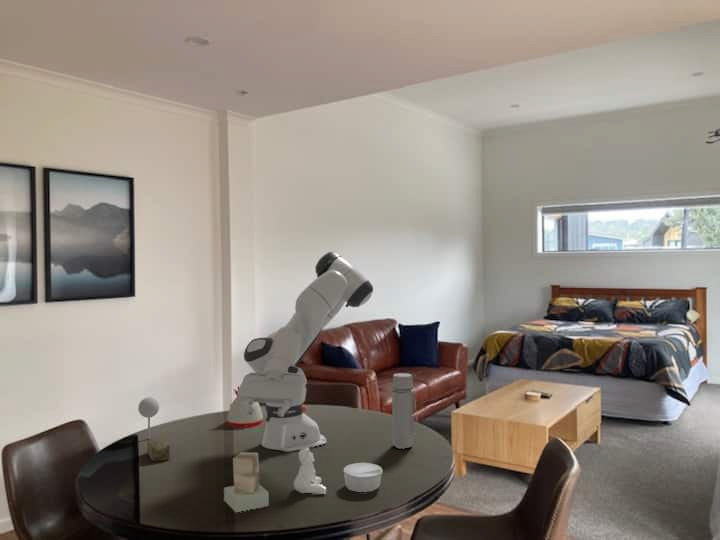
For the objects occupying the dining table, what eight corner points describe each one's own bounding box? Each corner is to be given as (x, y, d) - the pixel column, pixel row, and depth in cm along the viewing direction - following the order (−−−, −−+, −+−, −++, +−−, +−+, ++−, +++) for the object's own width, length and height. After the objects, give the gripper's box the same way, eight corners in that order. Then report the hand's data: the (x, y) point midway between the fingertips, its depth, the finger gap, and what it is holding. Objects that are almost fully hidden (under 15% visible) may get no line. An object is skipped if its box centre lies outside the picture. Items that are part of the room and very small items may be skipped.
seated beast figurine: (327, 495, 164) (327, 451, 164) (296, 498, 162) (296, 454, 162) (320, 482, 173) (320, 441, 173) (290, 486, 171) (290, 444, 171)
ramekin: (369, 498, 162) (369, 479, 162) (335, 490, 168) (335, 471, 168) (389, 485, 172) (389, 467, 172) (356, 477, 178) (356, 460, 178)
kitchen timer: (229, 418, 243) (229, 382, 243) (263, 417, 245) (263, 381, 245) (225, 428, 230) (225, 389, 229) (261, 427, 231) (261, 388, 231)
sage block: (255, 495, 165) (255, 481, 165) (268, 507, 157) (268, 492, 157) (224, 502, 160) (224, 487, 160) (235, 514, 153) (235, 499, 152)
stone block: (151, 463, 190) (151, 447, 190) (146, 453, 200) (146, 438, 200) (170, 460, 193) (170, 445, 193) (164, 450, 203) (164, 436, 203)
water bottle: (388, 449, 204) (388, 376, 204) (395, 442, 211) (395, 372, 211) (414, 452, 201) (414, 378, 200) (421, 445, 208) (421, 374, 207)
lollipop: (163, 437, 218) (163, 396, 218) (150, 442, 211) (150, 400, 211) (147, 435, 220) (147, 394, 220) (134, 440, 213) (133, 399, 213)
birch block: (242, 485, 162) (240, 452, 161) (259, 485, 161) (258, 452, 160) (234, 492, 157) (232, 458, 157) (252, 493, 156) (250, 459, 155)
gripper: (242, 366, 180) (227, 406, 171) (306, 369, 175) (295, 410, 166) (249, 378, 184) (234, 418, 175) (311, 381, 179) (300, 422, 170)
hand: (264, 414), depth 170 cm, fingers open, 8 cm apart
